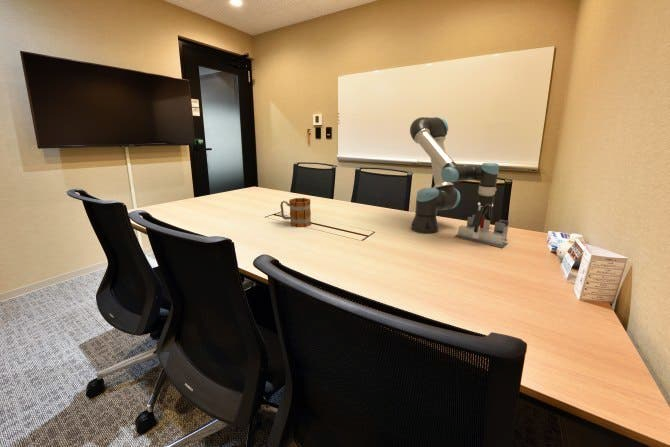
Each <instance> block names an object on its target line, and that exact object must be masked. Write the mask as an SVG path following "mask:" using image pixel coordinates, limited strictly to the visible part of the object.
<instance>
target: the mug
mask: <svg viewBox="0 0 670 447" xmlns="http://www.w3.org/2000/svg"><path fill="white" fill-rule="evenodd" d="M283 203H285V204H286V206H287V207H289V217H286V216H285V215H284V205H283ZM280 214H281V218H282V219H283V220H284V221H285V220H290V225H291V226H290V227H293V226H294V228H307V227H310V226H312V220H311V215H312V212H311V199H310V198H307V197H294V198H291V199H289V202H288V201H286V200H283V201H281V202H280Z"/></svg>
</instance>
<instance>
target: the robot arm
mask: <svg viewBox="0 0 670 447" xmlns="http://www.w3.org/2000/svg"><path fill="white" fill-rule="evenodd" d="M448 132H449V124H448V121H446V120H445V119H444V118H443V117H437V116H435V117H427V116H426V117H424V116H423V117H418V118H416V119H414V120H413V121H412V123H411V124H410V127H409V134H410V137H411V139H412V140H413V142H415V143H416V144H418V145H419V146H420V147H421V148H422V149H423V151H424V152H425V153H426V154H427V156H429V158H430V163H431V164H430V165H431V170H432V174H433V180H434V186H433V187H424V188H421V189H418V190H417V192H416V197H415V198H416V199H415V210H414V211H415V213H414V217H413V219H412V222H411V227H410V229H411V230H412V231H414V232H416V233H421V234H435V233H438V232H439V223H438V218H437V212H438V211H445V210H452V209H454V208H456V207H457V206H458V204H459V203H460V201H461V194H460V191H459V190H458V189H457V188H455V185H454V183H455V182H456V183H457V182H465V181H476V182H479V184H478V191H477V193H478V195H477V200H476V201H477V203H479V202H480V203H481V204H480V206H478V205H477V207H476V211H475V214H474V215H475V217H474V220H473V223H472V225H474V230H473V237H472V238H476V239H478V238H479V231H480V229H481V228H480V223H481V221H482V218H483V216H484V215H485V219H486V220H484V227H483V228H482V229H483V230H488V231H490V225H491V221H493V219H494V218H493V206H492V203H493V204H494V202H495V198H496V197H495V194H496V192H497V182H498V176H499V172H500V171H499V170H500V169H499V167H500V166H499V164H498V163H496V162H483V163H482V164H481V166H480V165H473V164H464V165H458V164H457V163H456V162H455V161H454V160H453V159H452V157H451V156H450V155H449V154H448V153H447V151H446V149H445V144H444V142H445V140H446V139H447V138H446V136H447V135H448ZM490 215H491V216H490Z"/></svg>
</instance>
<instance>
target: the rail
mask: <svg viewBox="0 0 670 447" xmlns="http://www.w3.org/2000/svg"><path fill="white" fill-rule="evenodd" d="M457 230H458V231H457V234H458V236H462V237H467V238H471V239H475V240H479V241H484V242H488V243H492V244H496V245H501V246H502V245H503V244H504V242H505V241H506V240H505V236H506V234H502V233H498V232H494V230H489V231H488V230H483V228H480V231H479V238H478V239H476V238H472V237H473V230H474V227H469V226H467V225H463V224H461V225H459V226H458V229H457ZM505 243H506V242H505Z"/></svg>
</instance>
